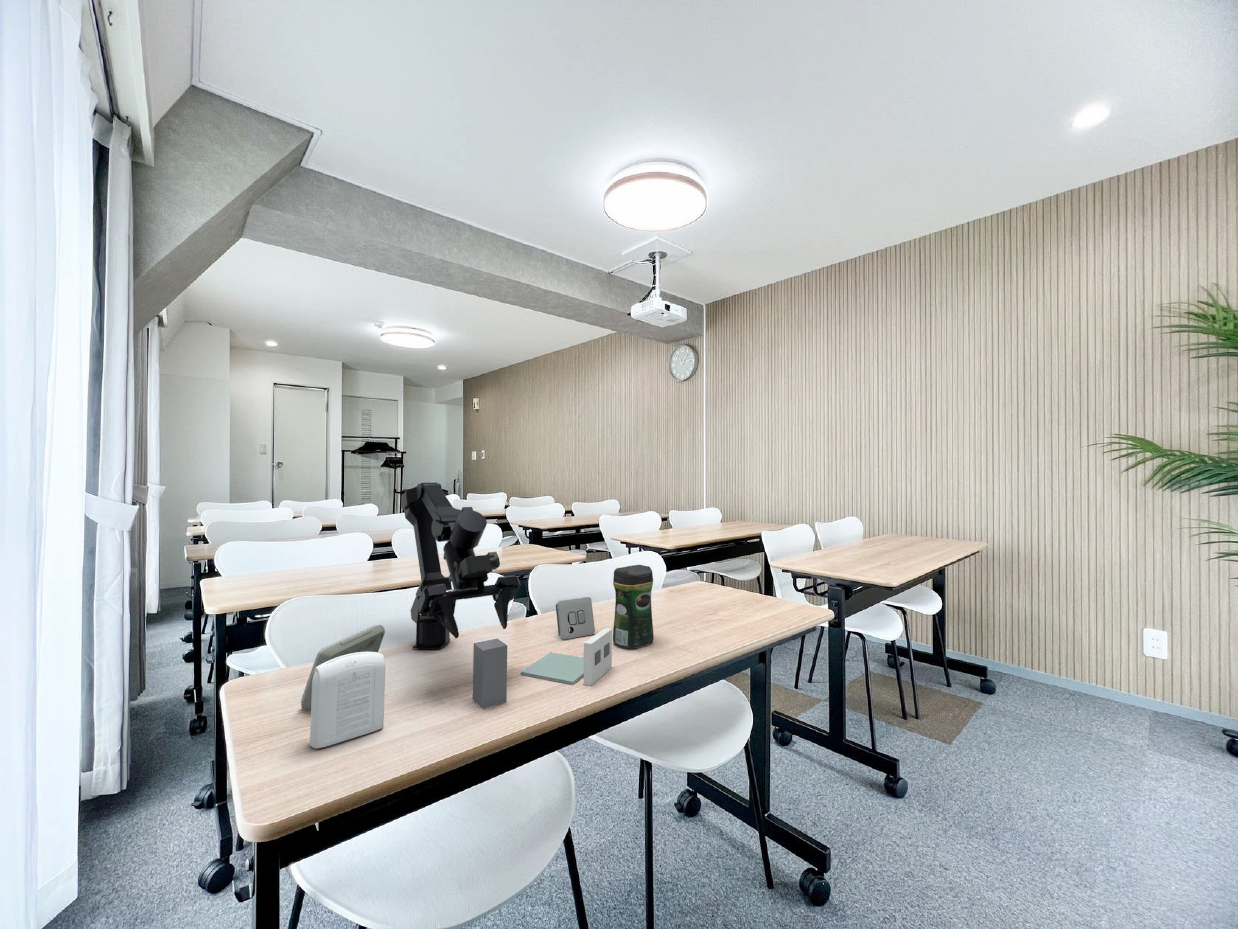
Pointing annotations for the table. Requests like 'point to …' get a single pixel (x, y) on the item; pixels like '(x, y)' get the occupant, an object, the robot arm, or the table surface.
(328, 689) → the photo printer
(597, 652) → the outlet plate
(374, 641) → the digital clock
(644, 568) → the coffee jar
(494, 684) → the block
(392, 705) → the table surface
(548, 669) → the mat
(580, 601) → the electrical switch
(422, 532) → the robot arm
